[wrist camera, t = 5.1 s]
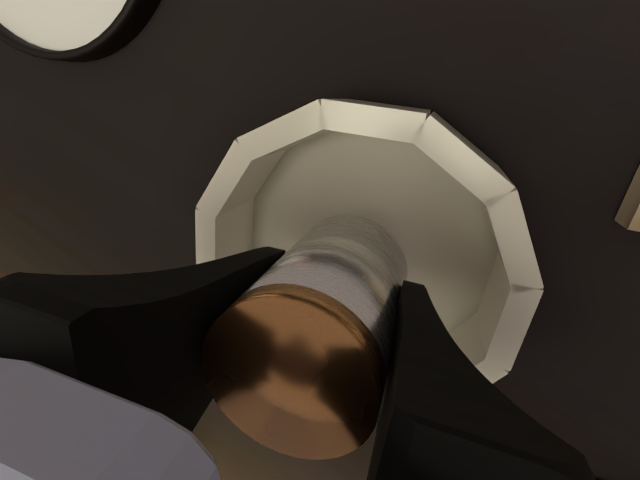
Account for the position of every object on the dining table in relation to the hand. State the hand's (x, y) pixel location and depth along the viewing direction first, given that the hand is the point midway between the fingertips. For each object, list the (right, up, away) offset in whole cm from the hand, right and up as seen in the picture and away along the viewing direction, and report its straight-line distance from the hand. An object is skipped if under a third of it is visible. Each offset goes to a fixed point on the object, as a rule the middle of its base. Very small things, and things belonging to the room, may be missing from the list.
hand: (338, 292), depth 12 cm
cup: (+1, +1, +4) cm, 4 cm away
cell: (+1, +1, +1) cm, 2 cm away
